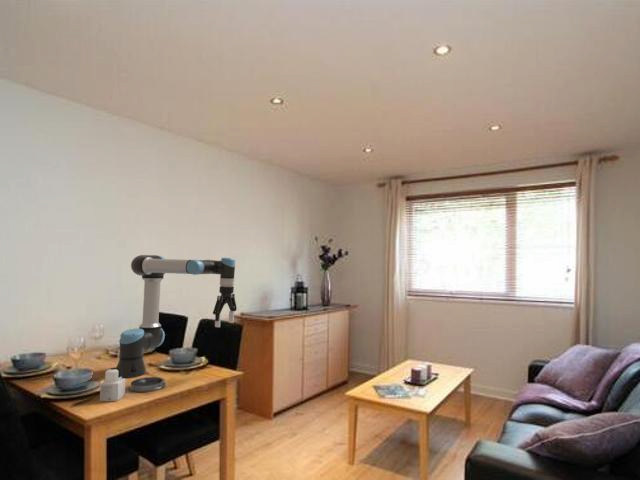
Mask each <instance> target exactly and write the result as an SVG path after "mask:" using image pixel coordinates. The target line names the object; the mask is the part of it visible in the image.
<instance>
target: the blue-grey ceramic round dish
mask: <svg viewBox="0 0 640 480" xmlns="http://www.w3.org/2000/svg"><path fill="white" fill-rule="evenodd" d="M165 381H166V379H165V378H163V377H159V376H158V377H157V376H148V377H147V376H146V377H140V378H137V379H134V380H132V381H131V383H130V386H129V390H130V391H131V392H134V393H151V392H156V391H159V390H162V389H164V388H165V387H166V382H165Z"/></svg>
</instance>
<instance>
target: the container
mask: <svg viewBox="0 0 640 480" xmlns="http://www.w3.org/2000/svg"><path fill="white" fill-rule="evenodd" d="M104 375H105V377H104V379H105V380H104V381H102V382H101V383H100V388H99V389H100V390H99V402H118V401H119V400H121V399H122V398H123V397H124V396H125V395H126V378H122V369H120V368H117V367H111V368H108V369H106V370H105V374H104Z"/></svg>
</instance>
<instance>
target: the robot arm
mask: <svg viewBox="0 0 640 480" xmlns="http://www.w3.org/2000/svg"><path fill="white" fill-rule="evenodd" d="M130 268H131V270H132V272H133V273H134V274H135V275H137V276H140V277H141V279H142V280H143V281H144V285H143V286H144V287H143V307H142V322H141V324H140V325H139V326H138V328H133V329H130V328H129V329H127V330H125V331H123V332H121V334H120V336H119V337H120V339H119V357H118V358H119V359H118V363H117V365H116V368H120V369H122V378H125V379H127V378H128V379H130V378H136V377H141V376H143V375H145V374H146V373H147V368H146V365H145V361H144V359H143V358H144V352H147V351H149V350H154V349H156V348H158V347H160V346H161V345H162V344H163V343H164V341H165V336H166V334H165V331H164V329H163V328H162V324H161V323H160V322H159V319H160V317H159V315H160V300H161V299H160V298H161V297H160V296H161V282H162V280H164V276H165V274H177V275H178V274H184V275H186V274H187V275H193V276H195V275H196V276H197V275H219V277H220V278H219V289H218V290H219V294H220V295H217V298H216V302H215V305H214V308H213V311H212V315H214V316H215V317H214V319H215V320H214V327H215V328H221V321H222V320H221V319H222V318H221V317H222V315H221V313H222V312H223V311H222V310H223V308H224V307H225V305H226V304H227V306H228V308H229V311H228V323H230V324H234V322H235V321H234V320H235V319H234V318H235V312H236V311H237V309H238V308H237V302H236V297H235V296H236V295H235V293H234V285H235V271H236V258H234V257H221V259H220V260H215V259H214V260H212V259H204V260H202V259H171V258H165V257H164V256H162V255H155V254H154V255H153V254H152V255H151V254H149V255H148V254H141V255H138V256H136V257H134V258H133V259H132V261H131V263H130Z"/></svg>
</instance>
